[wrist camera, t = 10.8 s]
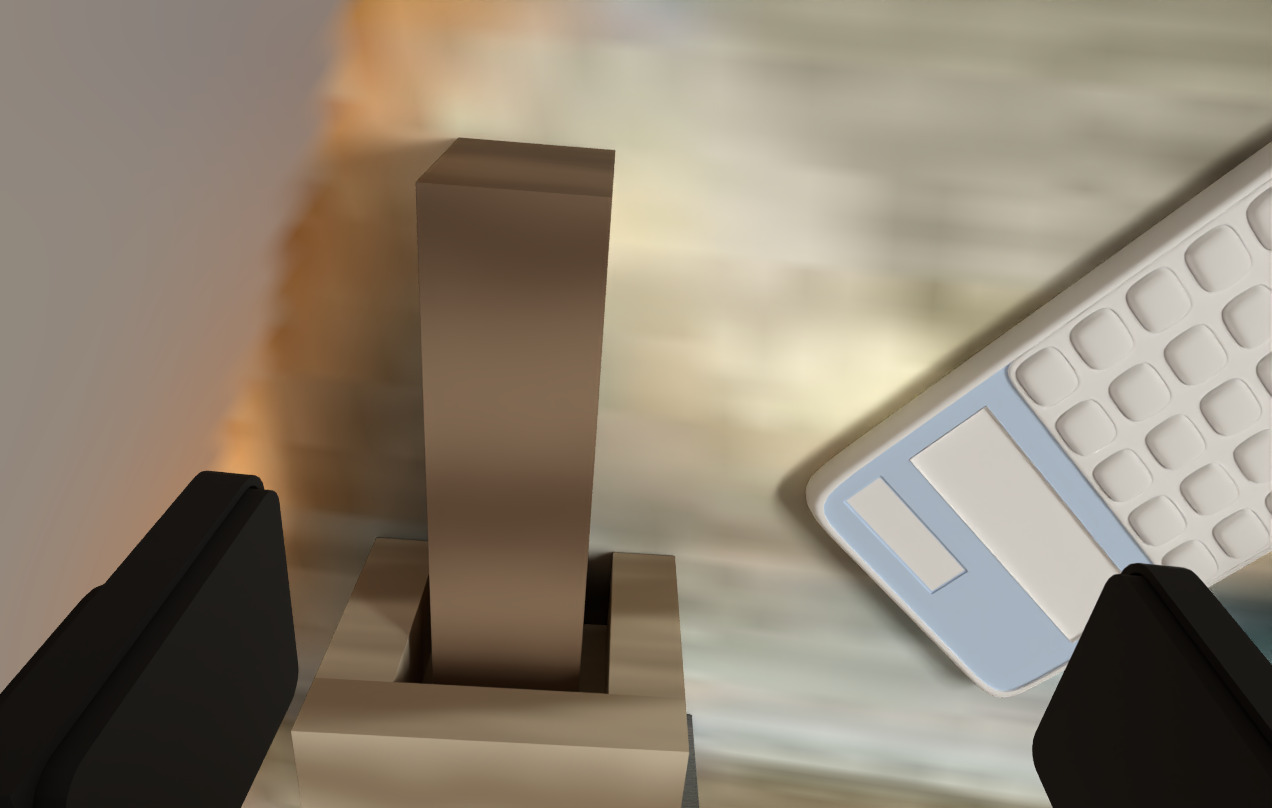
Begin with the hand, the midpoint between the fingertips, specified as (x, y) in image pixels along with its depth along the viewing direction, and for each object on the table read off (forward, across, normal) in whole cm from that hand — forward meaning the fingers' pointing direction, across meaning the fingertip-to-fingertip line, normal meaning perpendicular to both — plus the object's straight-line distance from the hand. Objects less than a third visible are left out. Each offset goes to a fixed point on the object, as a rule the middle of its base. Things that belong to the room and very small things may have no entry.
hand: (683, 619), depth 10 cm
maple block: (+18, +4, +18) cm, 25 cm away
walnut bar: (+18, +4, +8) cm, 20 cm away
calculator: (+20, -17, +7) cm, 27 cm away
